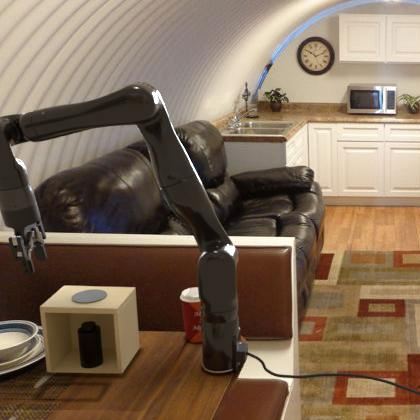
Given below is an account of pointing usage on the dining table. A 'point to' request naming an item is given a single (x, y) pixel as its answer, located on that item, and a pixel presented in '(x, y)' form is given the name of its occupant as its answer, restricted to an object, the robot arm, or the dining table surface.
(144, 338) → the dining table surface
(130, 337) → the cream hollow block
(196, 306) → the paper cup
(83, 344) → the pepper mill
